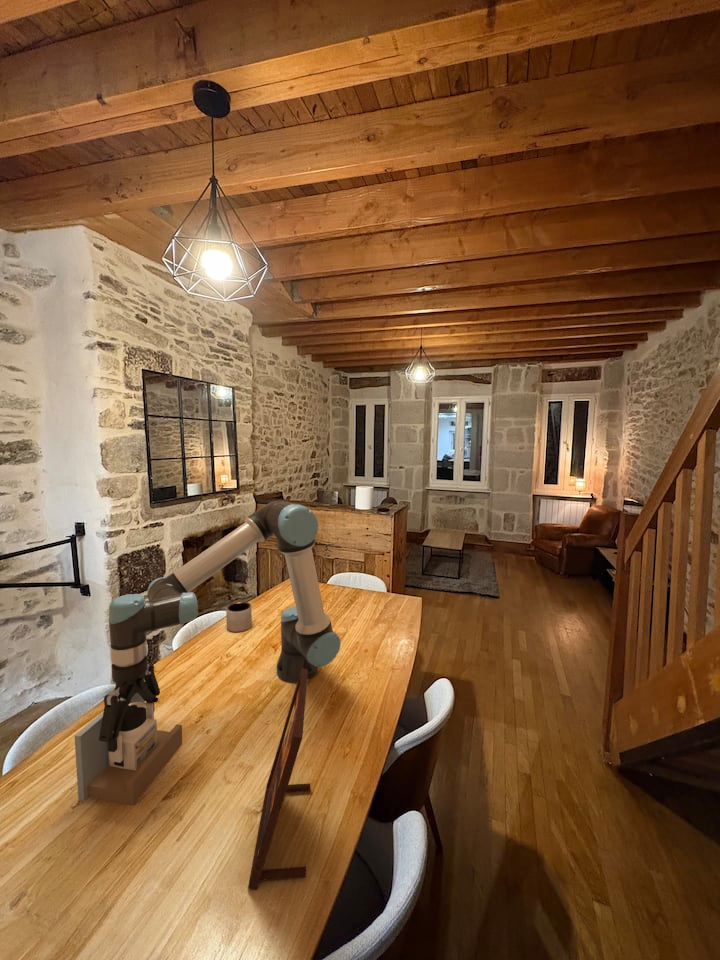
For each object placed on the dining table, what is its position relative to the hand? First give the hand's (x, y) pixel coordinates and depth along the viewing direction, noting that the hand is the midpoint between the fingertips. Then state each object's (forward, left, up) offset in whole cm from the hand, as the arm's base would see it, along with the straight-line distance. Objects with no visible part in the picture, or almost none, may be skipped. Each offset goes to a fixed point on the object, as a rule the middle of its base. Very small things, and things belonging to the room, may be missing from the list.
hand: (133, 742), depth 95 cm
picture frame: (-43, +9, -7) cm, 44 cm away
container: (0, 0, -4) cm, 4 cm away
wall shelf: (-1, 0, -7) cm, 7 cm away
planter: (+8, -74, -7) cm, 75 cm away
